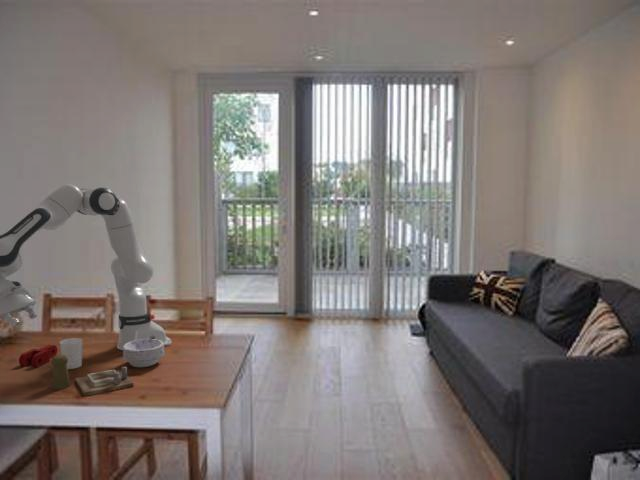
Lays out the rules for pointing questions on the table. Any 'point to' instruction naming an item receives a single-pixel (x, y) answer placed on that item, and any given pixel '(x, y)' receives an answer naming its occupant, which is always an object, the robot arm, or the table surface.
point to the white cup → (72, 352)
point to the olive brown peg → (60, 372)
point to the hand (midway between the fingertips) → (26, 320)
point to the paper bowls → (143, 352)
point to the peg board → (104, 381)
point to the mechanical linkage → (38, 356)
